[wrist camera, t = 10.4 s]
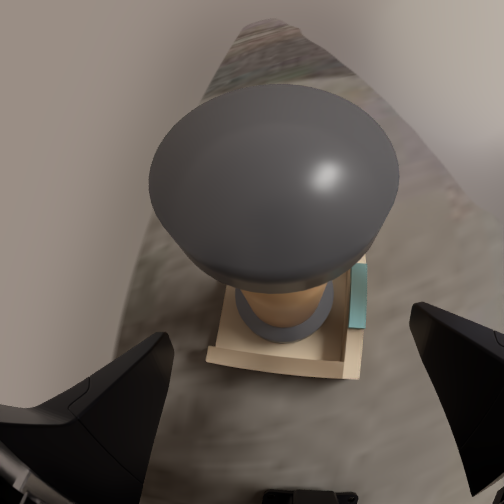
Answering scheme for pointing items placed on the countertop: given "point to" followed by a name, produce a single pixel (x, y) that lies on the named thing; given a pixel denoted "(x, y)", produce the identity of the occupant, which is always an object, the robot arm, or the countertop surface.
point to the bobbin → (275, 198)
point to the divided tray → (305, 351)
